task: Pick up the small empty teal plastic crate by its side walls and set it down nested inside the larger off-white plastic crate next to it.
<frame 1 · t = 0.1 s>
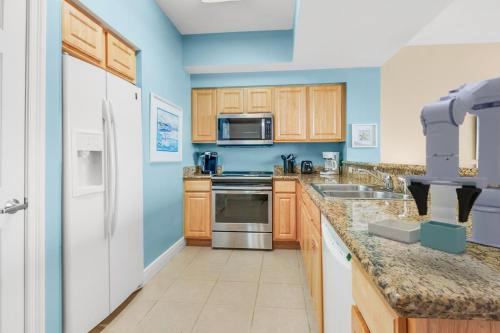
hand: (441, 218, 55), 10 cm above the worktop, tool pointing down, fingers open, 7 cm apart
white crate: (397, 235, 76), on the worktop
teal crate: (442, 247, 65), on the worktop
water bottle: (443, 228, 85), on the worktop
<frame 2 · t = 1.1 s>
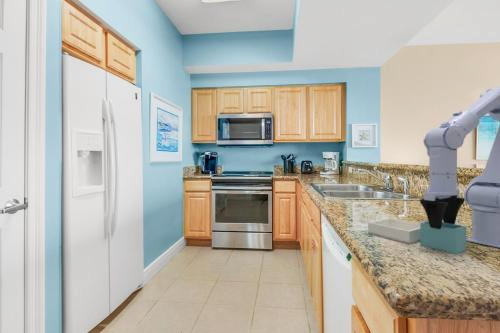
hand: (442, 226, 65), 6 cm above the worktop, tool pointing down, fingers open, 7 cm apart
nothing on the worktop moved.
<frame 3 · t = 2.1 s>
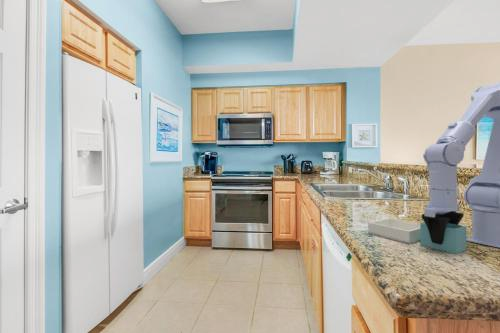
hand: (442, 241, 65), 2 cm above the worktop, tool pointing down, fingers closed on teal crate, 6 cm apart
teal crate: (442, 247, 65), on the worktop, touching gripper
everything else where it was.
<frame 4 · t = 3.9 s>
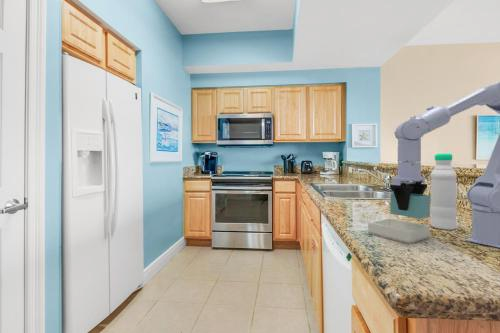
hand: (408, 208, 73), 9 cm above the worktop, tool pointing down, fingers closed on teal crate, 6 cm apart
teal crate: (409, 215, 73), point 7 cm above the worktop, touching gripper
everything else where it was.
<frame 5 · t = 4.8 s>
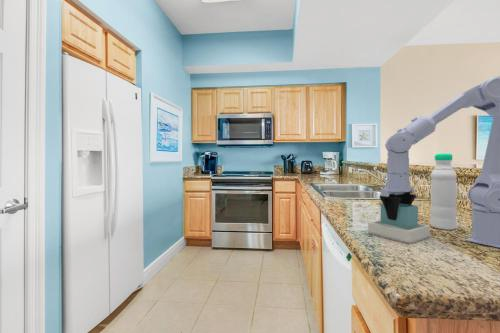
hand: (397, 218, 76), 5 cm above the worktop, tool pointing down, fingers closed on teal crate, 6 cm apart
teal crate: (398, 224, 76), point 3 cm above the worktop, touching gripper
everything else where it was.
when the fingers open (3 cm above the worktop, at t = 5.7 s): teal crate drops 1 cm, resting on white crate.
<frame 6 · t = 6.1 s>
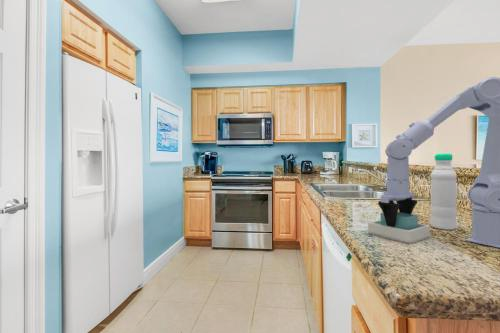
hand: (397, 224, 76), 3 cm above the worktop, tool pointing down, fingers open, 7 cm apart
teal crate: (398, 233, 76), point 1 cm above the worktop, touching white crate
everything else where it was.
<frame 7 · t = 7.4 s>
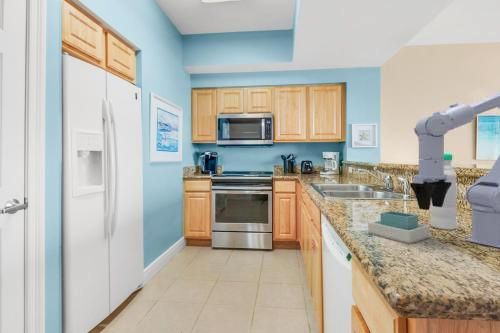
hand: (430, 208, 70), 9 cm above the worktop, tool pointing down, fingers open, 7 cm apart
nothing on the worktop moved.
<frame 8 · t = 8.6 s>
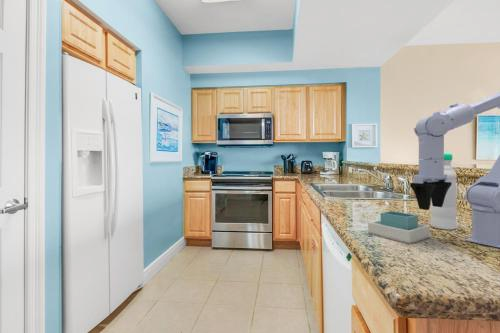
hand: (430, 208, 70), 9 cm above the worktop, tool pointing down, fingers open, 7 cm apart
nothing on the worktop moved.
at the end: teal crate 0.2 cm off-centre on the white crate, point 0.6 cm above the white crate's base; teal crate tilted 0°; the gripper is holding nothing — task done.
